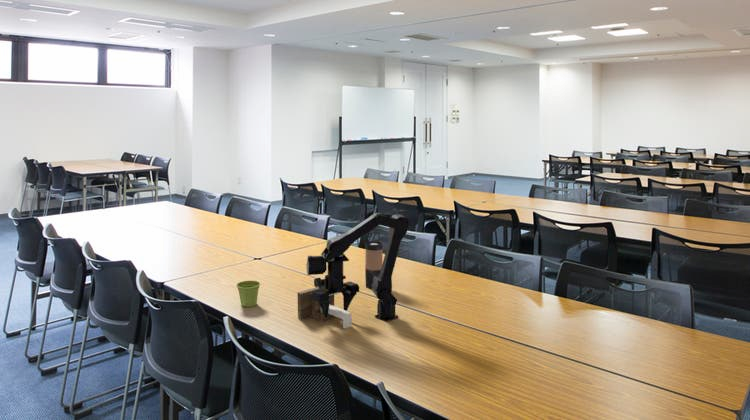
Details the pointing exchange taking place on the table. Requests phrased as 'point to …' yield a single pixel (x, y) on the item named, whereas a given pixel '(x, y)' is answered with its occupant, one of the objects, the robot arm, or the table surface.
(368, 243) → the travel mug
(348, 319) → the bed rail
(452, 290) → the table surface
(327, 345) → the table surface
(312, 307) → the brown wooden block
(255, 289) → the plant pot
